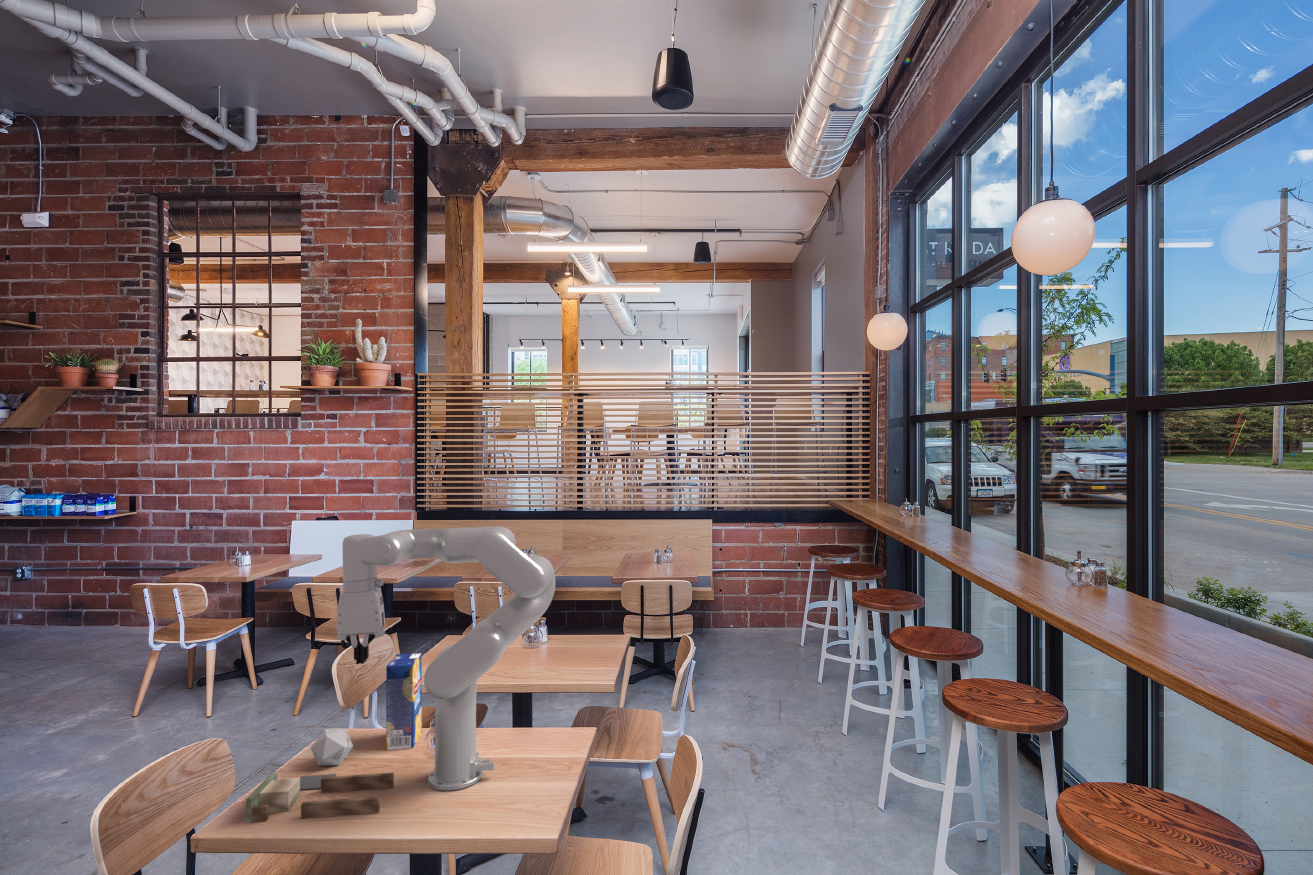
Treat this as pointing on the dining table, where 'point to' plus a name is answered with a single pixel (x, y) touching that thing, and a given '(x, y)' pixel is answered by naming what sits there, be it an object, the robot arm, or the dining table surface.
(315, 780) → the mat
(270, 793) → the oak block
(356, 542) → the robot arm
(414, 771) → the dining table surface
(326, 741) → the die
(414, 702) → the beverage box
